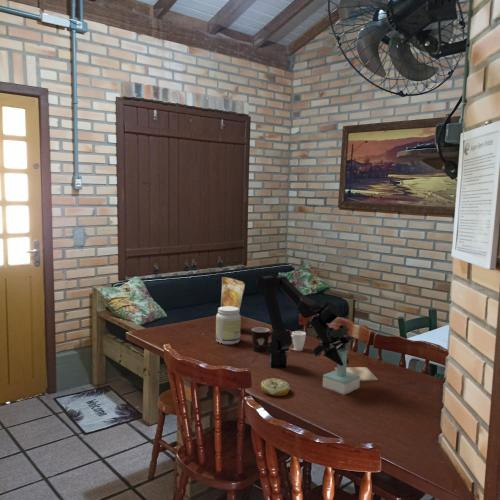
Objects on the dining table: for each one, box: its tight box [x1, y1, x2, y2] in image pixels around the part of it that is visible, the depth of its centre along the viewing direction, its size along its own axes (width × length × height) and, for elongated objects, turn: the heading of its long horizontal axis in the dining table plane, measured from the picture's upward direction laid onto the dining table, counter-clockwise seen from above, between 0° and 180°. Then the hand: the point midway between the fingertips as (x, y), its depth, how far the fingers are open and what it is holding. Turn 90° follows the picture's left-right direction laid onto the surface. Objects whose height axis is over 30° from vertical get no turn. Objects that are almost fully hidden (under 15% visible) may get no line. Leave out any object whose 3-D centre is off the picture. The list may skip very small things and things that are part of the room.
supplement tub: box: [215, 306, 242, 345], centre depth 240 cm, size 12×12×17 cm
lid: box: [322, 348, 360, 384], centre depth 185 cm, size 10×10×12 cm
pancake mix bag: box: [220, 276, 246, 312], centre depth 262 cm, size 7×19×28 cm, turn 35°
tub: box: [322, 376, 361, 396], centre depth 185 cm, size 10×10×4 cm
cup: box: [289, 330, 307, 352], centre depth 231 cm, size 7×10×8 cm
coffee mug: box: [251, 326, 272, 354], centre depth 227 cm, size 12×9×10 cm
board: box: [334, 366, 379, 382], centre depth 200 cm, size 14×14×1 cm
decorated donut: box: [260, 377, 291, 397], centre depth 180 cm, size 10×11×4 cm
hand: (345, 364), depth 184 cm, fingers closed on lid, 3 cm apart
